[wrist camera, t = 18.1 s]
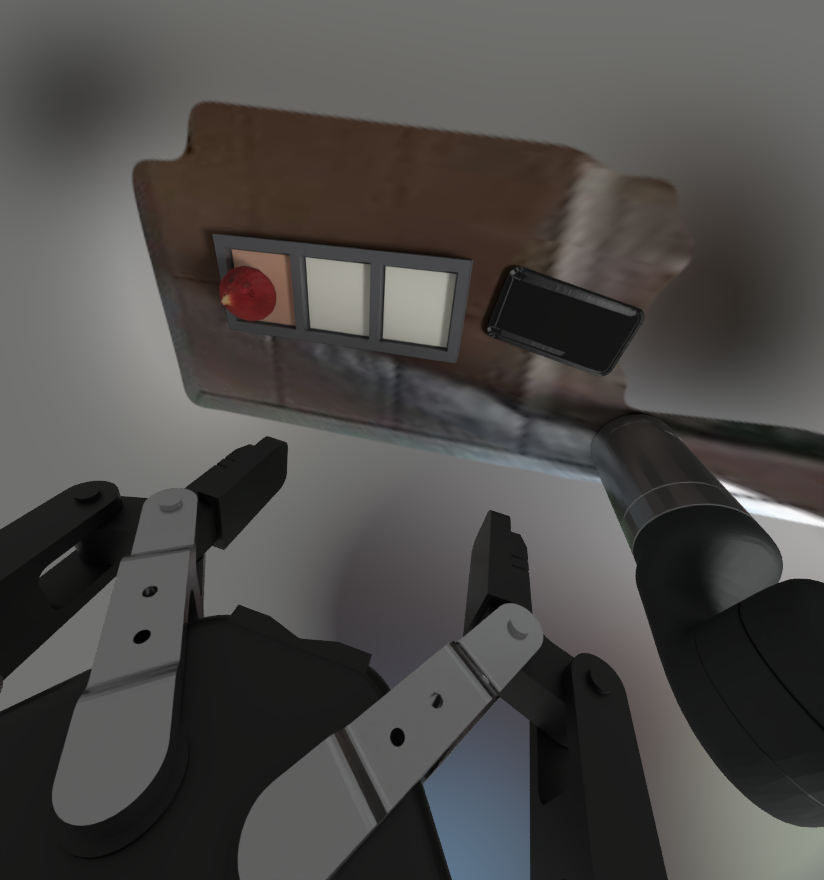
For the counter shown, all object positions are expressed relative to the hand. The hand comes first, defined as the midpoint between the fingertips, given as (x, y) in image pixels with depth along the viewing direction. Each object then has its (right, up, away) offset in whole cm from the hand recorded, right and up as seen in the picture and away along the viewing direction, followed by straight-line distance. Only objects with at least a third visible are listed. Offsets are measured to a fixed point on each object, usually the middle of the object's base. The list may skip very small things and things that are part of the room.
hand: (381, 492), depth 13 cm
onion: (-17, +21, +30) cm, 40 cm away
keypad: (-7, +20, +30) cm, 36 cm away
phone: (+18, +15, +26) cm, 35 cm away
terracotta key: (-17, +21, +30) cm, 41 cm away
